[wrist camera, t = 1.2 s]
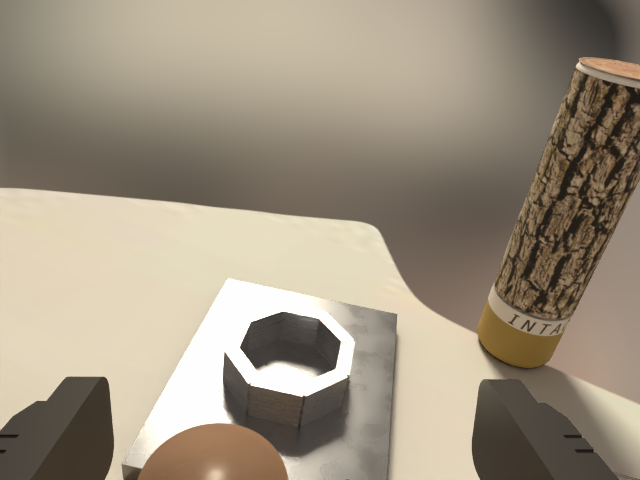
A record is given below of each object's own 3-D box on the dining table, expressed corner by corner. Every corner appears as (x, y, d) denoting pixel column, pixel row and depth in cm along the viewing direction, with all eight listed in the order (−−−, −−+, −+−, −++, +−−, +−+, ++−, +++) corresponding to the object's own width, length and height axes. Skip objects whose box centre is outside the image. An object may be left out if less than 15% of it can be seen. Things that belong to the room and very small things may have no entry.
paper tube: (462, 322, 50) (558, 54, 37) (523, 318, 51) (634, 61, 38) (498, 375, 44) (626, 80, 31) (565, 369, 46) (712, 88, 33)
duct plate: (123, 479, 32) (118, 431, 30) (227, 291, 49) (228, 251, 47) (378, 541, 31) (394, 496, 28) (393, 326, 48) (404, 287, 45)
